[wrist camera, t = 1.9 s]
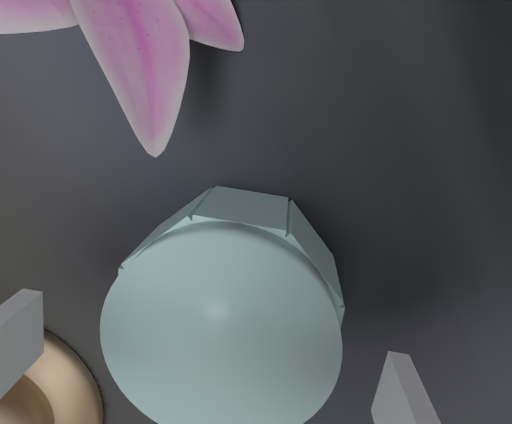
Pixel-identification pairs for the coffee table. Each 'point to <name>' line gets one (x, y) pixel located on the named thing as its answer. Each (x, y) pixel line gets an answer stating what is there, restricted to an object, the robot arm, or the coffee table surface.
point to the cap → (227, 315)
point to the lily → (137, 48)
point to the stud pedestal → (54, 390)
